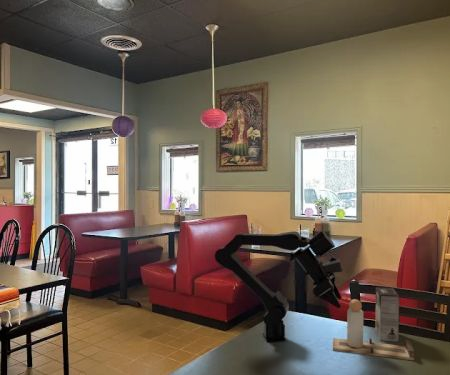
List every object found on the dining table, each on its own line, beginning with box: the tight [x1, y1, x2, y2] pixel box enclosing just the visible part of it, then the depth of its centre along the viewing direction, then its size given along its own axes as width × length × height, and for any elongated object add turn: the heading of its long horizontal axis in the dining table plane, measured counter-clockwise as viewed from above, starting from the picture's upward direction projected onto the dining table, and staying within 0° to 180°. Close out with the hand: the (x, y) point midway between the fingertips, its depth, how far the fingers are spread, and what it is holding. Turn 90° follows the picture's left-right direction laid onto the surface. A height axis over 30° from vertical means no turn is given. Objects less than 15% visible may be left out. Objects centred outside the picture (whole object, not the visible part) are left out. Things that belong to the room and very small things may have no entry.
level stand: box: [332, 337, 415, 361], centre depth 126 cm, size 24×9×3 cm, turn 73°
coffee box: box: [374, 286, 400, 342], centre depth 136 cm, size 9×6×16 cm
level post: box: [346, 298, 364, 348], centre depth 127 cm, size 5×5×15 cm
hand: (340, 303), depth 127 cm, fingers open, 9 cm apart
